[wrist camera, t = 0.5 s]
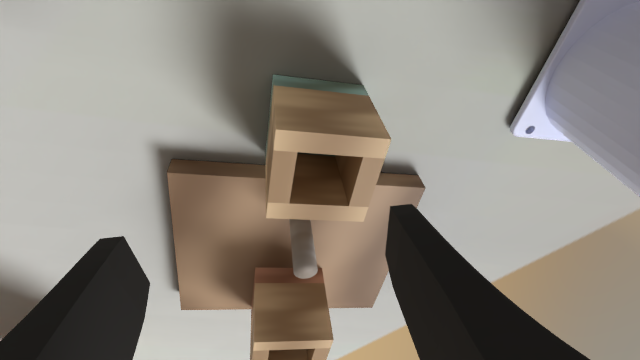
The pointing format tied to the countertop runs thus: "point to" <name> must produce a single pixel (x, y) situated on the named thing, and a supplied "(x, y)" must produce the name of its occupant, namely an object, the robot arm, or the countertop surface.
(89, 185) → the countertop surface
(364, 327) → the countertop surface
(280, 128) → the sleeve
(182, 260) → the pin board
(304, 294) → the seated sleeve
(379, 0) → the countertop surface
